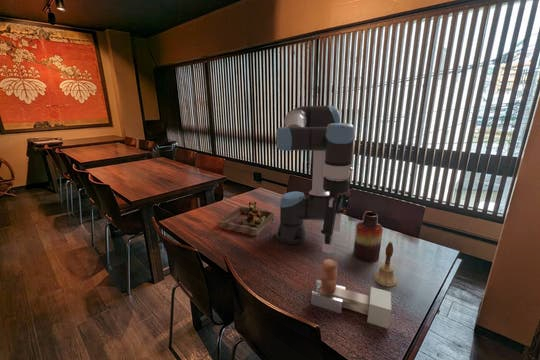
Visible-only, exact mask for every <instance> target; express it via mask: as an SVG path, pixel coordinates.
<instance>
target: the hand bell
mask: <svg viewBox="0 0 540 360" xmlns="http://www.w3.org/2000/svg"><path fill="white" fill-rule="evenodd" d="M393 253H394V245H393V242H391V241H389V242H388V244H387V245H386V247H385V261H384V264H383V263H382V264H381V265H380V267H379V270H378V271H377V272H375V273H374V275H373V279H374V281H375V282H376V283H377V284H379V285H381V286H383V287H390V288H391V287H395V286H396V285H397V284H398V280H397V278H396V277H395V275H394V268H393V267H392V266H391V258H392V256H393Z"/></svg>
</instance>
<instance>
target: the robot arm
mask: <svg viewBox="0 0 540 360" xmlns="http://www.w3.org/2000/svg"><path fill="white" fill-rule="evenodd" d="M283 121H284V126H279V127H278V128H276V129H277V130H276V148H277V150H279V151H287V152H288V151H311V152H312V151H313V152H312V153H313V154H312V155H313V156H312V181H311V182H312V183H311V185H312V187H311V188H312V189H311V190H309V192H308V195H305V193H304V192H302V191H301V192H300V191H289V192H286V193H284V194H282V196H281V197H280V203H279V208H280V211H279V212H280V217H279V219H280V220H279V221H280V222H279V225H278V228H277V230H276V239H277V241H279V242H280V243H282V244H285V245H293V246H294V245H300V244H303V243H304V242H306V240H307V236H308V235H307V230H306V228H305V224H304V221H322V222H323V226H322V229H321V230H320V233H321V234H322V235H323V236H322V237H323V238H322V252H324V253H328V254H332V253H333V246H334V245H333V243H334V234H335V233H334V232H338V233H339V232H341V221H342V214H344V212H345V210H344V209H343V194H345V193H348V192H349V190H350V181H351V180H350V177H351V172H352V171H354V170H353V169H354V168H353V167H351V166H352V157H353V150H354V149H353V147H354V140H355V127H354V125H353V124H352V123H346V122H341V116H340V111H339V108H338V107H337V106H335V105H302V106H298V107H295V108H293V109H291V110H289V111H288V112H287V113H286V115H285V116H284V120H283Z"/></svg>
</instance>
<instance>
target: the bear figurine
mask: <svg viewBox="0 0 540 360" xmlns="http://www.w3.org/2000/svg"><path fill="white" fill-rule="evenodd" d="M248 204H249V205H248V208H249V209H250V210H248V214H247V216H246V217H245V218H243V221H242V225H243V226H247V227H254V228H257V227H258V226H259V225H260V224H261V223H262V222H263V221H264V220H265V219H266V217H264V216H263V217H261V213H260V212H259V210H258V209H259V208H257V205H256V204H257V201H254V202H251V201H249V202H248Z"/></svg>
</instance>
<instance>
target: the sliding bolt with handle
mask: <svg viewBox="0 0 540 360" xmlns="http://www.w3.org/2000/svg"><path fill="white" fill-rule="evenodd" d="M338 266H339V265H338V262H337V261H335V260H334V259H329V258H327V259H324V260H323V261H322V268H321V270H322V271H321V289H320V293H322V294H325V295H329V296H332V297H336V298H339V299H342V300H343V302H342V309H343V308H344V309H347V310H350V311H354V312H356V313H360V314H363V315H367V316H368V311H369V304H370V295H367V294H364V293H360V292H356V291H353V290H349V289H346V288H345V289H342V288H338V287H336V285H337V275H338Z"/></svg>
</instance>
